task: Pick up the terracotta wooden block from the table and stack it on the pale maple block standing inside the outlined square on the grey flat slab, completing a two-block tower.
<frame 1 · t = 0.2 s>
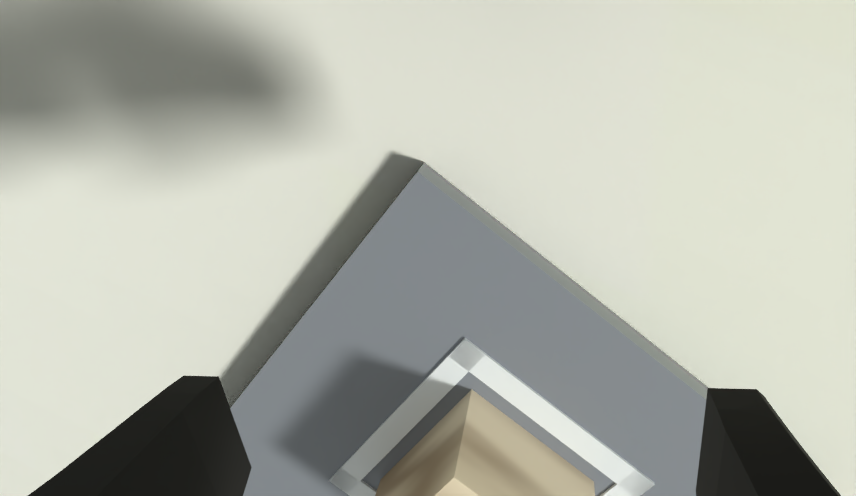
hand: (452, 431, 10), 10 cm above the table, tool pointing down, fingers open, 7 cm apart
maple block: (486, 460, 23), resting on grey flat slab
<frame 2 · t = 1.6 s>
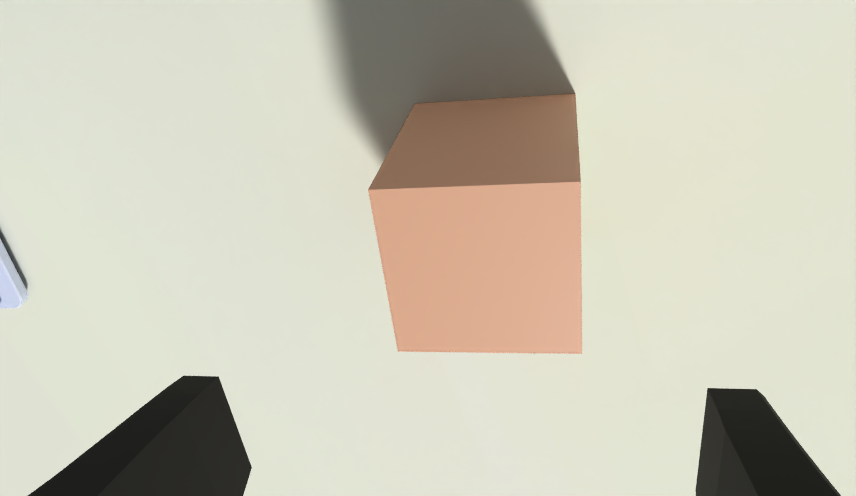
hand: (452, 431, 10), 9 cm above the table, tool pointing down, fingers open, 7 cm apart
terracotta block: (498, 171, 18), on the table
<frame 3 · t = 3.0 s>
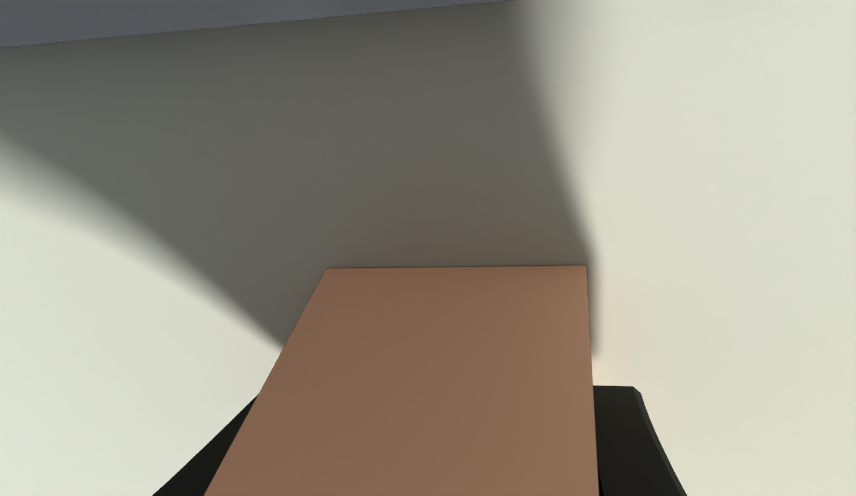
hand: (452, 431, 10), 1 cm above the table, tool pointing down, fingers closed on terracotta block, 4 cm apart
terracotta block: (463, 367, 11), on the table, touching gripper
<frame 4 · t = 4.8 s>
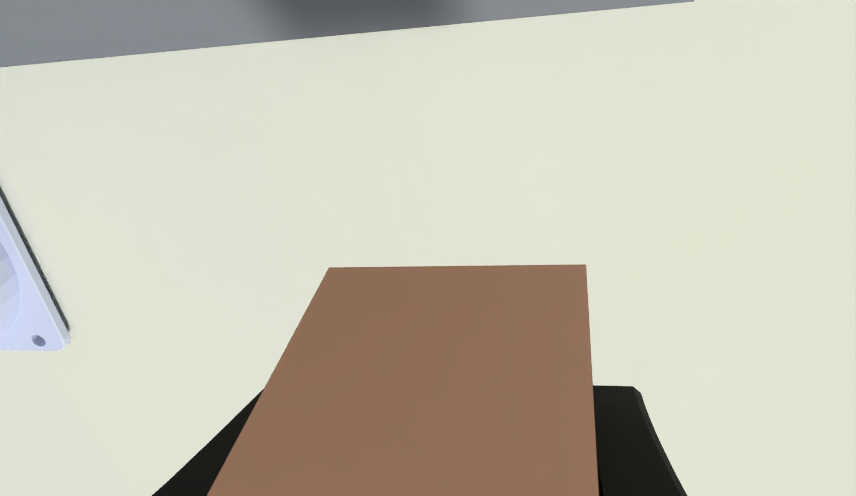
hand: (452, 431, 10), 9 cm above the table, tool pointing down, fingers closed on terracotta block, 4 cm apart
terracotta block: (464, 366, 11), point 8 cm above the table, touching gripper
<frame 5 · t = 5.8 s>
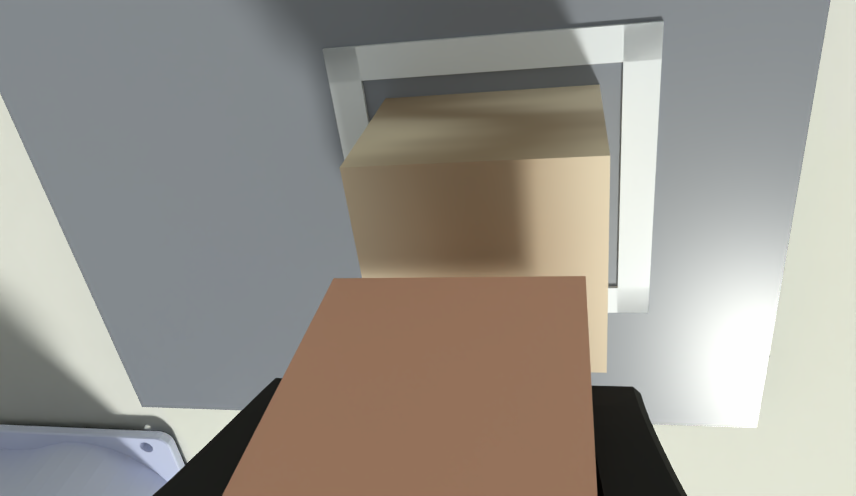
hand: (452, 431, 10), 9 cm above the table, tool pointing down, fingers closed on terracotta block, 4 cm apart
grey flat slab: (389, 176, 18), on the table
maple block: (499, 171, 18), resting on grey flat slab
terracotta block: (466, 374, 12), point 8 cm above the table, touching gripper
when the fingers open (7 cm above the table, at t = 6.6 s): terracotta block stays where it is, resting on maple block.
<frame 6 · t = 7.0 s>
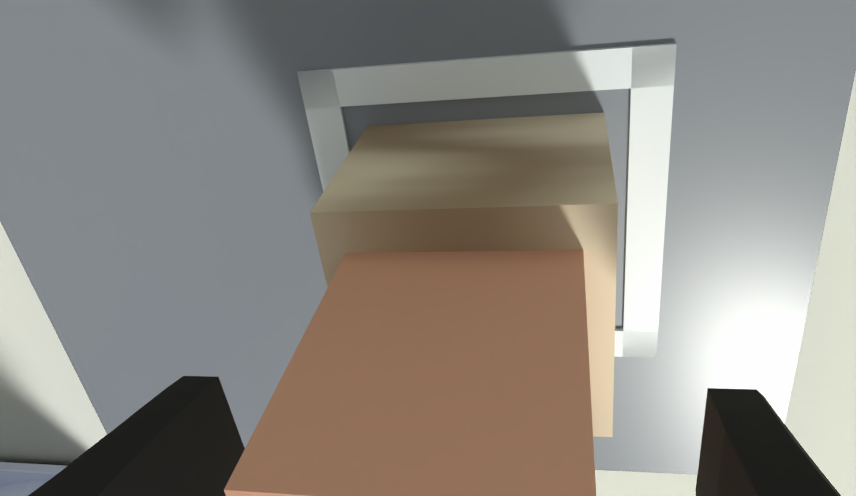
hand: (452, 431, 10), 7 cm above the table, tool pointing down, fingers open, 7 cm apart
grey flat slab: (374, 206, 17), on the table
maple block: (494, 203, 16), resting on grey flat slab
terracotta block: (470, 345, 12), point 5 cm above the table, touching maple block
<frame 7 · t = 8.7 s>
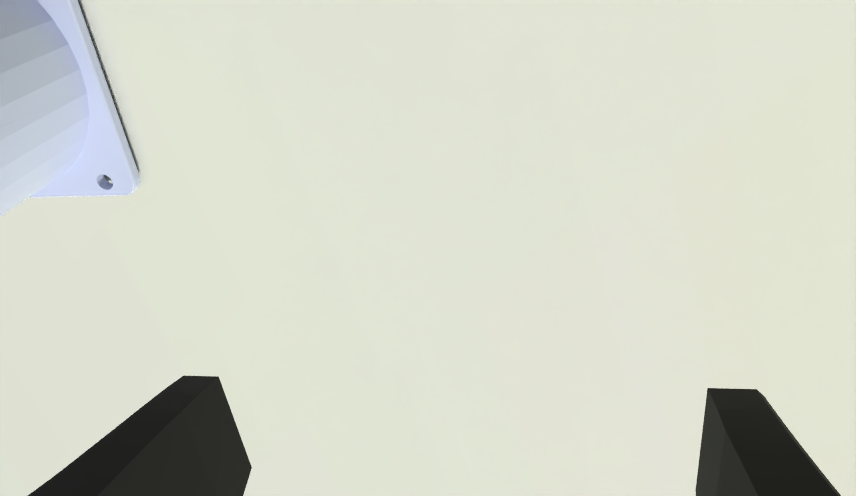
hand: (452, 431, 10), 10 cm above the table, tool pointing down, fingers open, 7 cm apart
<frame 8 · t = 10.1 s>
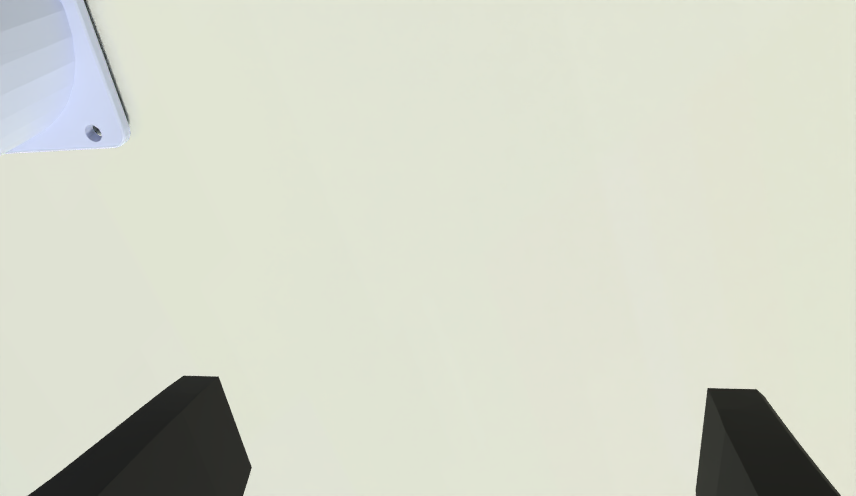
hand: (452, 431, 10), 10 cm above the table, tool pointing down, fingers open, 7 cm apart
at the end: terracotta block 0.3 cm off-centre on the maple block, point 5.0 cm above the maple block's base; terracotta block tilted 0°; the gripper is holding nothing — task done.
